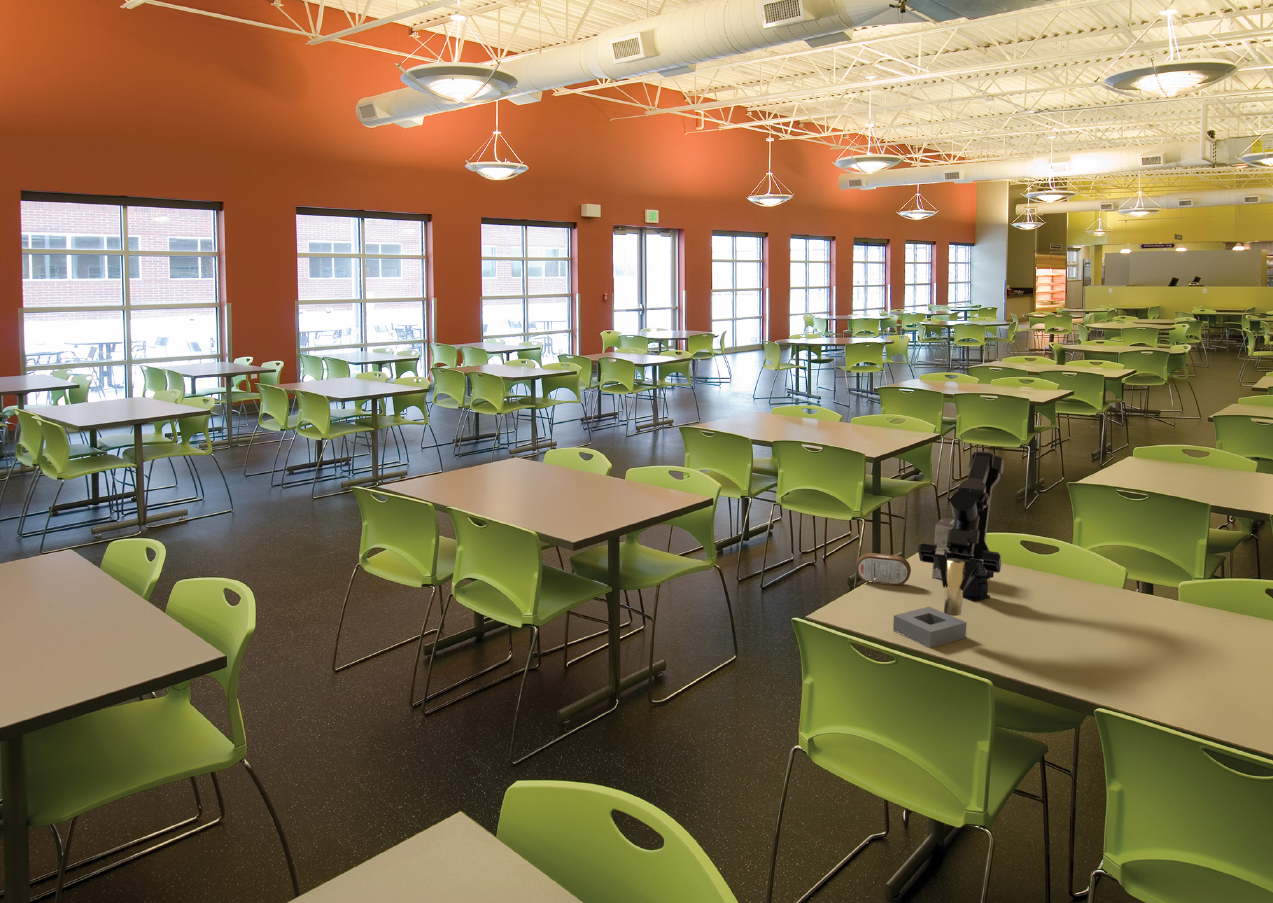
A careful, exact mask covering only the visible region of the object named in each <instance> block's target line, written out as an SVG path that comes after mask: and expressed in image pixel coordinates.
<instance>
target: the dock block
mask: <svg viewBox="0 0 1273 903" xmlns="http://www.w3.org/2000/svg"><path fill="white" fill-rule="evenodd" d="M967 626H968V625H967V621H964V620H962V619H960V618H957V617H956V616H952V615H948V614H945V613H944V611H943V612H942V611H941V610H939V609H936V608H933V607H932V606H926V607H922V608H918V609H914V610H910V611H906V612H901V613H897V614H895V615H893V625H892V627H893V628H892V630H893V629H894V630H895V631H898V632H899V633H901V634H900V635H902V634H904V635H905V636H904V635H903V636H904V637H906V636H908V637H909V638H908V637H907V638H908V639H910V638H911V639H910V640H912V639H913V640H912V641H914V640H915V641H914V642H916V641H917V643H918V642H919V643H918V644H921V645H923V646H925V647H926V648H929V649H930V648H934V647H938V646H942V645H944V644H949V643H951V642H955V641H956V642H957V641H959V640H963V639H966V638H967V637H966V636H967ZM895 631H894V632H895ZM899 633H898V634H899Z"/></svg>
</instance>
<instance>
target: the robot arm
mask: <svg viewBox="0 0 1273 903" xmlns="http://www.w3.org/2000/svg"><path fill="white" fill-rule="evenodd" d="M1004 466H1005V461H1004V459H1003V458H1002V457H1001V456H998V455H995V454H994V453H992V452H990V451H980V450H977V451H974V452H973V453H972V454H970V455H969V460H968V470H969V472H968V475H967V479H966V480H964V481H961V482H960V483H959V485H958V487H957V489H955V490H954V492H953V494H952V496H951V498H950V505H951V512H952V517H953V519H954V523H953V528H952V529H949V530H948V537H947V548H948V551H946V550H945V549H939V548H937V544H934V543H932V542H926V541H925V542H924V541H922V542H921V543H919V545H918V549H917V553H918V557H919V561H920V562H922V563H929V564H933V563H935V566H936V567H939V568H940V571H941V577H942V579H941V583H942V588H945V587H946V572H947V559H951V558H956V559H961V560H964V561H965V570H964V580H963V584H962V591H963V598H965V599H967V600H970V601H972V602H977V601H980V600H985V599H989V598H991V595H990V594H988V591H989V582H988V580H990V579H992V578H994V576H995V575H994V573H996V574H998V573H1001V569H1002V555H1001V554H1000V552H997V551H992V550H990V549H989V546H988V544H987V542H986V540H987V539H986V538H987V531H988V524H989V516H990V508H991V500H992V493H993V489H994V487H995V486H996V485H997V484H998V483H999V482H1000V479H1001V475H1002V474H1003V473H1004V469H1005V468H1004Z"/></svg>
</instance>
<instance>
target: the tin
mask: <svg viewBox="0 0 1273 903" xmlns="http://www.w3.org/2000/svg"><path fill="white" fill-rule="evenodd" d="M855 566H856V567H855V569H856V574H857V576H858V577H859V578H860V579H861V580H862V581H864V582H866V583H869V581H872V582H871V583H872V584H878V583H883V584H882V585H887V584H892V585H891V586H901V585H903V584H904V585H905V583H906V582H907V581H908V580H909V578H910V575H911V574H912V573H911V572H912V568H911V565H910V563H909V561H908V560H907V559H906V558H905V557H902V556H900V555H893V554H884V553H876V552H875V553H874V552H867V553H864V554H862V555H860V557H858V559H857V561H856V565H855ZM884 573H885V574H884ZM874 578H876V579H875V580H874ZM873 582H875V583H873ZM871 583H870V584H871ZM884 583H885V584H884Z"/></svg>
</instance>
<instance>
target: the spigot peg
mask: <svg viewBox="0 0 1273 903" xmlns="http://www.w3.org/2000/svg"><path fill="white" fill-rule="evenodd" d="M964 570H965V561H964V560H961V559H956V558H951V559H948V560H947V572H946V585H945V589H944V590H945V591H944V604H943V613H945V614H948V615H950V616H953V617H956V616H961V615H962V609H963V598H964V597H963V591H962V584H963V580H964Z"/></svg>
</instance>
